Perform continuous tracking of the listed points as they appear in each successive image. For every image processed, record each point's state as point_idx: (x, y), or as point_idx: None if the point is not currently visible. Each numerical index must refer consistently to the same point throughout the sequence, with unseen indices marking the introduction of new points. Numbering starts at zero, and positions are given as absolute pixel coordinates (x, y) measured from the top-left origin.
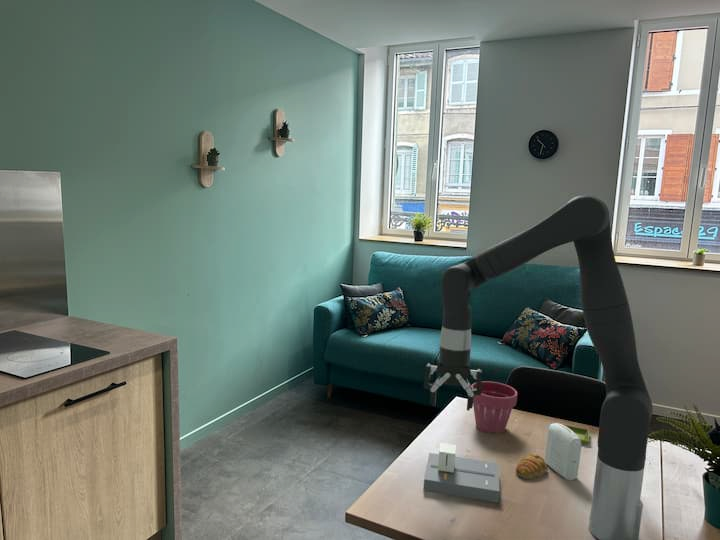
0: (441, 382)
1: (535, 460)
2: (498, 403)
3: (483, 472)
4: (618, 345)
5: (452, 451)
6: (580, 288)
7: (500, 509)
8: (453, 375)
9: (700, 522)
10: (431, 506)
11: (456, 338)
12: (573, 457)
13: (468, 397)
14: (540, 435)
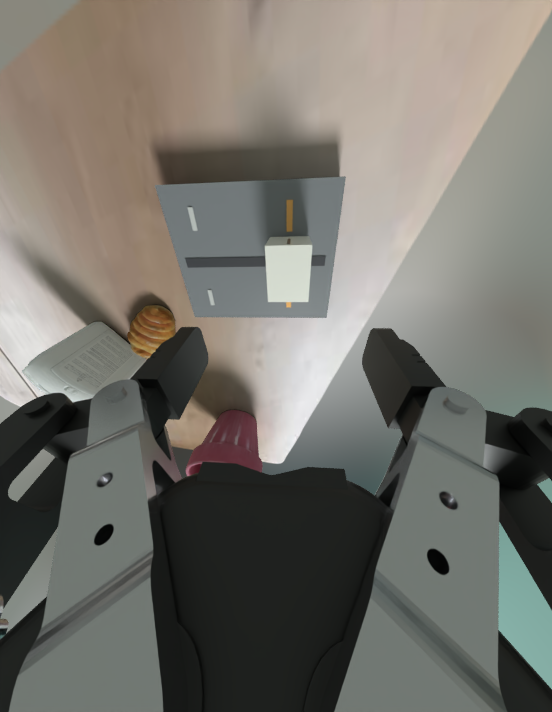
0: (432, 497)
1: (139, 340)
2: (211, 451)
3: (210, 269)
4: None
5: (274, 259)
6: None
7: (157, 153)
8: (244, 700)
9: None
10: (320, 84)
11: None
12: (60, 342)
13: (154, 375)
14: None
